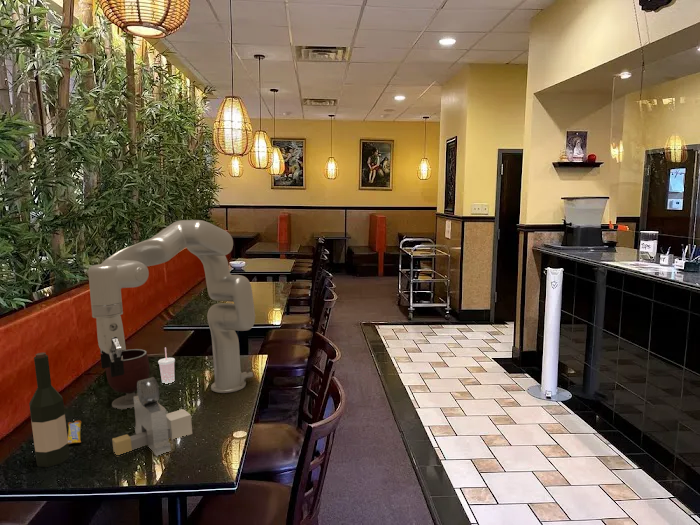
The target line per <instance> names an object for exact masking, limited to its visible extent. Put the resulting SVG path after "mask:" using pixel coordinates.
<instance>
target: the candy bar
mask: <svg viewBox="0 0 700 525" xmlns="http://www.w3.org/2000/svg"><path fill="white" fill-rule="evenodd" d="M81 426H82V421H81V420H75V421H74V422H72V421H71V422H70V421H69V422H67V427H68V431H67V438H68V446H69V445H72V444H73V445H74V444H80V443H82V441H81V428H82V427H81Z"/></svg>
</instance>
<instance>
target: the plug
mask: <svg viewBox="0 0 700 525" xmlns="http://www.w3.org/2000/svg"><path fill="white" fill-rule="evenodd" d="M166 418H167V429H168V440H171V441H174V440H173V439H175V438H178V439H180V438H179V437H181V438H183V437H182V436H184V437H187V436H190V435H193V426H192V424H193V423H192V415H191V414H190V413H189V412H188V411H187V410H185V409H184V408H182V409H179V410H175V411H172V412H167V413H166ZM186 435H187V436H186ZM169 438H171V439H169ZM111 440H112V441H111V442H112V447H113V448H112V450H113V453H114V452H115V453H114V455H115V454H116V455H120V454H123V453H126V452H129V451H132V450H134V449H137V448H140V447H142V446H145V445H148V438H147V431H146V432H142V433H139V434H136V433H135V434H133V435H129V434H128V433H127V434H123V435H120V436H117V437H116V436H115V437H112V439H111ZM175 440H176V439H175ZM132 452H133V451H132ZM116 455H115V456H116Z"/></svg>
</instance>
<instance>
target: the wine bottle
mask: <svg viewBox="0 0 700 525" xmlns="http://www.w3.org/2000/svg"><path fill="white" fill-rule="evenodd" d="M33 359H34V360H33V362H34V369H35V377H36V385H37V388H36V389H35V392H34V394H33V396H32V397H31V399H30V400H29V403H28V404H29V412H30V419H31V420H30V422H31V429H32V435H33V445H34V453H35V460H36V461H35V462H36V465H37V466H36V467H42V468H49V467H53V466H56V465H59V464H60V465H61V464H63V463H64V462H65V461H67V460H68V459H69V458H70V457H71V456H70V448H69V445H68V431H67V421H66V412H65V404H64V398H63V396H62V395H61V394H60V393H59V391H58V390H57V389H56V387H54V386H53V385H52V379H51V371H50V362H49V356H48V354H47V353H46V352H38V353H35V355H34V357H33Z"/></svg>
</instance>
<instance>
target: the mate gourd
mask: <svg viewBox="0 0 700 525" xmlns="http://www.w3.org/2000/svg"><path fill="white" fill-rule="evenodd" d="M121 353H122V357H123V365H124V375H120V376H116V377H112V376H111V371H110V367H108V368H105V373H106V374H105V375H106V379H107V383H108V385H109V387H110V388H111V389H113V390H114V391H115V392H117V393H123V394H124V393H125V395H122V396H120V397H118V398H115V399H114V400H112V401H111V406H112V408H114V409H116V408H117V410H128V409H127V408H130V409H133V408H132V407H134V398H133V397H135V396H138V393H137V382H138V381H140V380H144V379H148V378H150V370H151V369H150V361H149V357H148V354H147V350H145V349H141V348H134V349H133V348H132V349H126V350H125V351H121ZM113 357H114V354H113Z"/></svg>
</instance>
